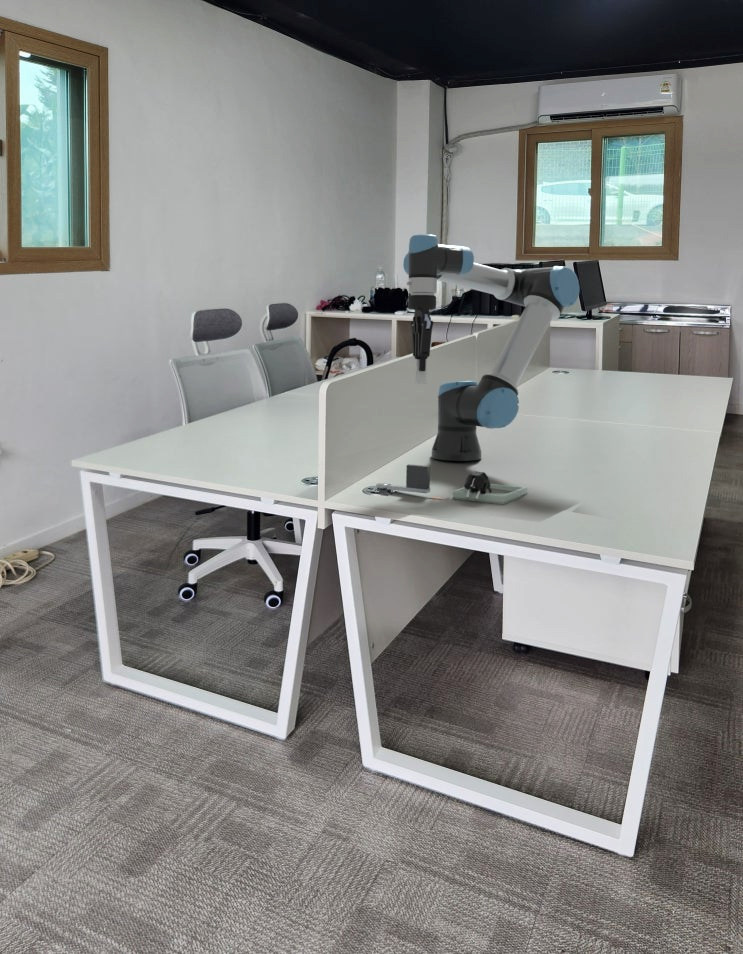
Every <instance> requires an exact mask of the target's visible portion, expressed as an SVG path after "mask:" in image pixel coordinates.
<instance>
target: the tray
mask: <svg viewBox="0 0 743 954" xmlns="http://www.w3.org/2000/svg"><path fill="white" fill-rule="evenodd" d="M490 489H496V490H502V491H509V492H508V493H506V492H505V493H502V492H501V493H499V492H497V493H496V492H491V493H490V492H486V493H485V494H483V493H480V495H479V498H478V500H476V499H475V497H476V494H477V493H474V492H471V493H470V496H469V498H466V495H467V492H468V490H467V489H465V487H464V486H463V487H461V488H458V489H455V490H452V499H454V500H461V501H470V502H478V503H488V504H498V505H505V504H509V503H511V502H513V501H516V500H518V499H520V498H521V497H522V496H524V495H526V494H528V487H527V486H517V485H516V486H515V485H507V484H505V485H504V484H496V483H490Z"/></svg>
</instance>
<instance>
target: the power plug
mask: <svg viewBox="0 0 743 954" xmlns="http://www.w3.org/2000/svg"><path fill="white" fill-rule="evenodd" d="M490 484H491V483H490V480H489V476H488V475H487V474H486V472H484V471H476V470H475V471H473V473H470V474H468V475H467V477H466V479H465V482H464V486H463V487H465V489H467V490H468V492H467V495H466V498H469V496H470V493H471V492H474V493H477V494H476V497H475V499H476V500H478V498H479V495H480V493H483V494H485V493H487V490H488V493H493V490H492V488H490Z"/></svg>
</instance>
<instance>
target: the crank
mask: <svg viewBox="0 0 743 954" xmlns="http://www.w3.org/2000/svg"><path fill="white" fill-rule="evenodd" d="M405 470H406V471H405V472H406V475H405V476H406V478H405V479H406V480H405V481H406V482H405V485H403V484H402V485H401V484H392V483H388V482H380V483H379V482H378V483H376V484H375V489H376V488H377V489H388V490H398V491H399V492H400V491H401V492H409V493H419V494H429V493H431V488H430V487H431V486H430V485H431V484H430V482H431V466H430V465H420V464H410V463H409V464H406V469H405ZM398 491H397V492H398Z"/></svg>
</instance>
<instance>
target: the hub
mask: <svg viewBox="0 0 743 954" xmlns="http://www.w3.org/2000/svg"><path fill="white" fill-rule="evenodd" d="M374 490H377V491H379V492H375V493H374V494H377V493H380V494H379V495H383V494H385V495H384V496H388V495H389V494H391V493H393V494H395V493H394V492H391V490H388V489H376V488H375V489H374ZM391 495H392V494H391ZM389 496H390V495H389Z"/></svg>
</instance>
